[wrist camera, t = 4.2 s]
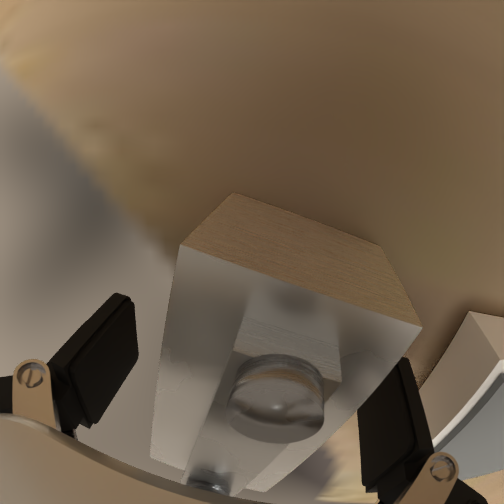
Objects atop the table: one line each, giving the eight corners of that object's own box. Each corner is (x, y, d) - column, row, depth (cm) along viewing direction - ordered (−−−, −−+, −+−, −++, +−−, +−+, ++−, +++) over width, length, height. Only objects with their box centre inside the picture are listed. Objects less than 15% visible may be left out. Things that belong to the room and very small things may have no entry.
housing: (234, 190, 9) (130, 296, 4) (378, 243, 9) (450, 392, 4) (182, 385, 14) (135, 490, 8) (276, 415, 14) (258, 526, 8)
